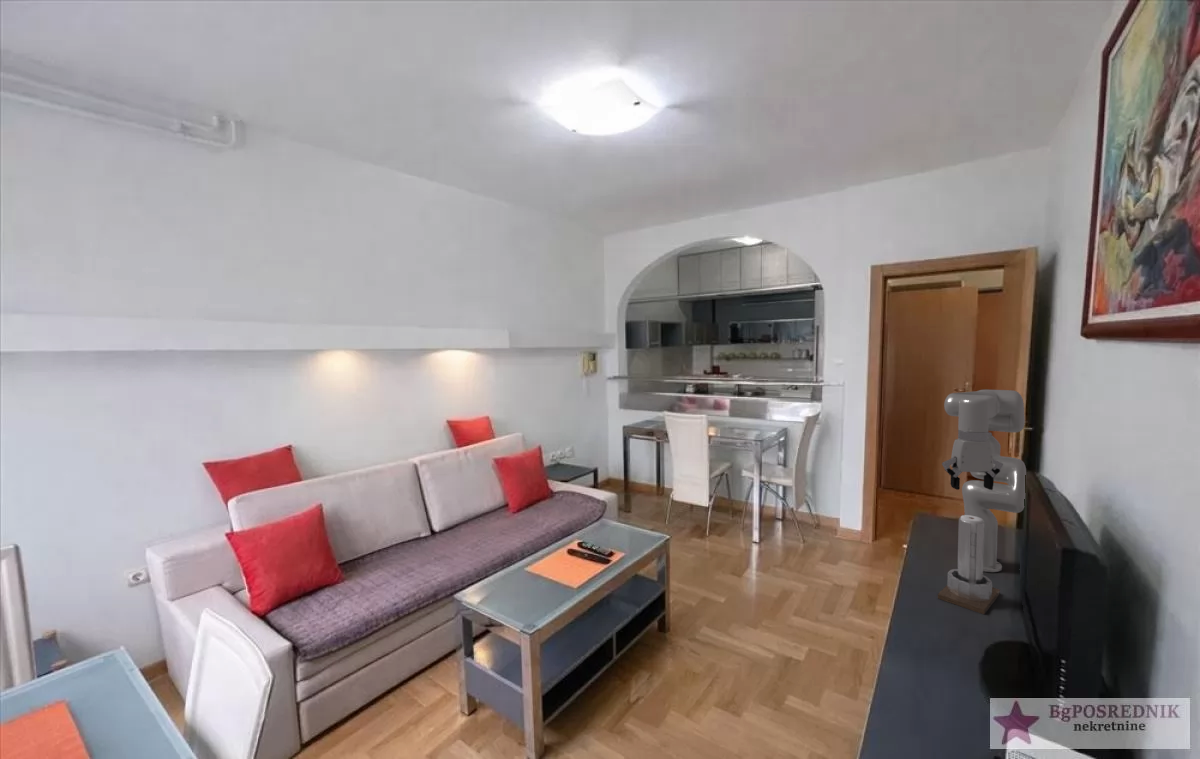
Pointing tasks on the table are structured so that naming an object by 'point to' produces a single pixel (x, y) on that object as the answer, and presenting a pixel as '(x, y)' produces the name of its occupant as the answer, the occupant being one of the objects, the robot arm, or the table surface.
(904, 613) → the table surface
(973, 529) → the silver long cylinder
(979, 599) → the duct collar
